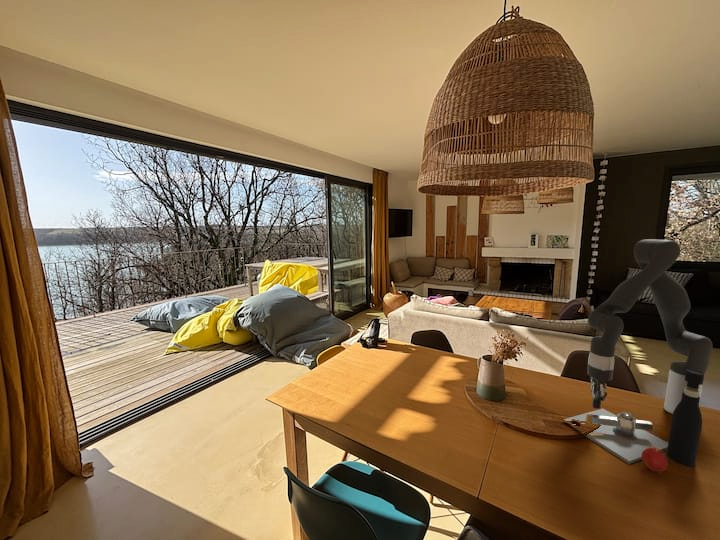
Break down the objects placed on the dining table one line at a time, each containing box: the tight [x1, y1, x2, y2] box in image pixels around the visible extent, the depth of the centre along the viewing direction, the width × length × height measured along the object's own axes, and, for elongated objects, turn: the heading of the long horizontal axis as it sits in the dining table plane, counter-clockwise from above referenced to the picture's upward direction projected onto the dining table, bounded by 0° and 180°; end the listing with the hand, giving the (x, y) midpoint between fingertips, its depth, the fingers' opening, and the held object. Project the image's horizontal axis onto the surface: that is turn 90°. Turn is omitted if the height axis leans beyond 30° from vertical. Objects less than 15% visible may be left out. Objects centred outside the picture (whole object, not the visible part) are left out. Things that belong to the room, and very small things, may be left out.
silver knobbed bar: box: [586, 411, 654, 438], centre depth 108 cm, size 20×5×7 cm, turn 77°
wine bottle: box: [666, 369, 705, 468], centre depth 95 cm, size 6×6×30 cm
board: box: [562, 408, 668, 465], centre depth 109 cm, size 22×22×1 cm
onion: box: [641, 447, 669, 472], centre depth 92 cm, size 6×6×8 cm
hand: (595, 407), depth 116 cm, fingers closed
